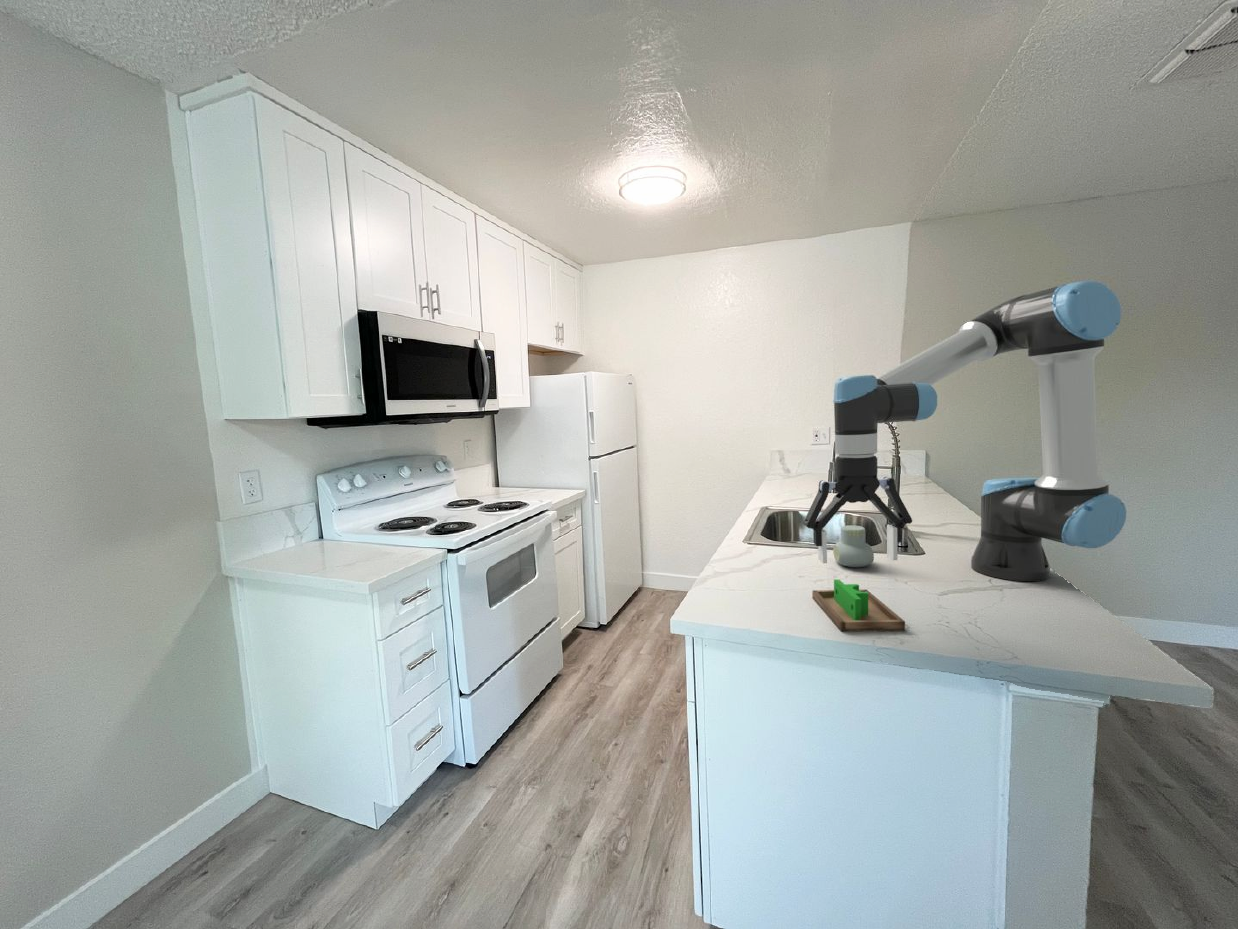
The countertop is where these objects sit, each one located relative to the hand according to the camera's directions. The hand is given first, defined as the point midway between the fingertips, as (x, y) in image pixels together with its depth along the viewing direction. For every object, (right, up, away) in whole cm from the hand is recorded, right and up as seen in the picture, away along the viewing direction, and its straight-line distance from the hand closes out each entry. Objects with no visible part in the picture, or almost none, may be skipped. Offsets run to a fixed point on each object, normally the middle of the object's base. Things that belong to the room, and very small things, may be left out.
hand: (857, 560), depth 100 cm
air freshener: (+14, -8, +32) cm, 35 cm away
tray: (0, -11, +1) cm, 11 cm away
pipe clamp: (0, -11, +1) cm, 11 cm away
